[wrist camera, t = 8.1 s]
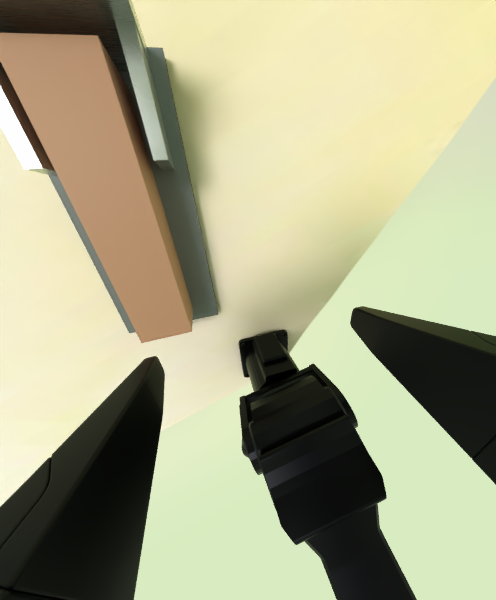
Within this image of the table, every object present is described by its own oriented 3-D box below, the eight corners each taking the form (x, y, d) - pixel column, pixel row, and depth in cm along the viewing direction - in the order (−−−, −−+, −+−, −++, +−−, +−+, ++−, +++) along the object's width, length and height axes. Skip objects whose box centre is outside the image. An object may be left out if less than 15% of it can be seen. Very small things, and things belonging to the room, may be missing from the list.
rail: (192, 308, 19) (191, 331, 15) (152, 317, 18) (141, 343, 15) (128, 88, 11) (97, 35, 8) (55, 89, 11) (-15, 32, 7)
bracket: (175, 170, 14) (161, 146, 8) (66, 178, 12) (-30, 157, 7) (146, 47, 11) (98, -104, 6) (1, 42, 10) (-235, -156, 4)
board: (217, 310, 20) (218, 314, 20) (131, 328, 19) (129, 333, 18) (164, 57, 12) (162, 47, 11) (-5, 53, 10) (-20, 42, 9)
